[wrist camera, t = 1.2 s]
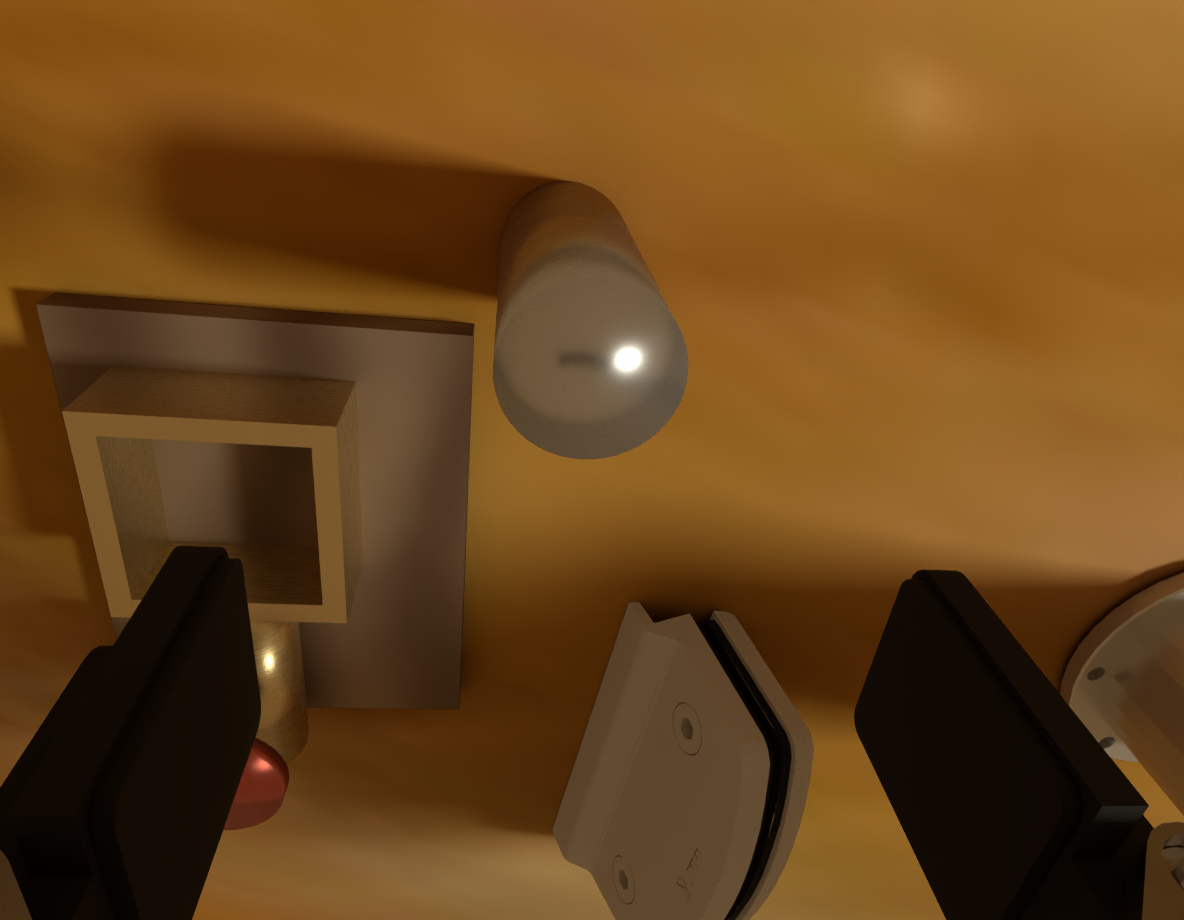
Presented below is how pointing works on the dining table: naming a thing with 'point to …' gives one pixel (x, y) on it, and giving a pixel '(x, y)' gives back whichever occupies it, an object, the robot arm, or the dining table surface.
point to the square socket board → (271, 572)
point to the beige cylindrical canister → (582, 328)
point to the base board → (285, 474)
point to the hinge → (686, 774)
